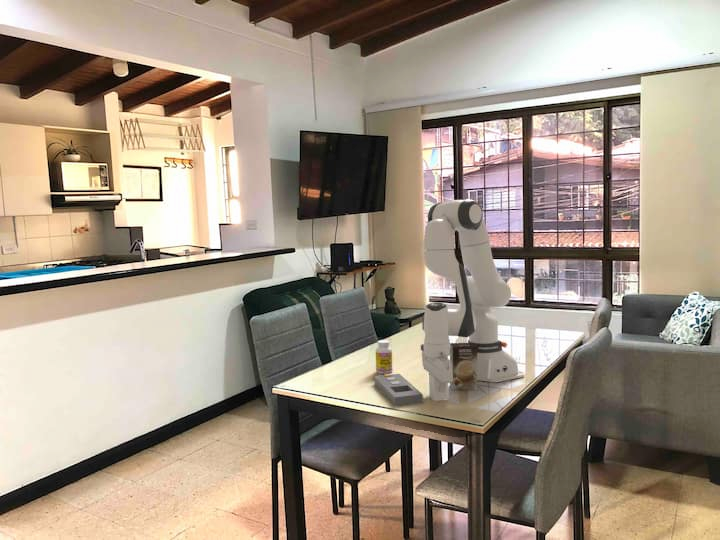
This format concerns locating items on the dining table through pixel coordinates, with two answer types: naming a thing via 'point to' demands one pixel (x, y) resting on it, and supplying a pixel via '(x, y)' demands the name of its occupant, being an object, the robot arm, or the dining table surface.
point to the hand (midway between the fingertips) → (437, 388)
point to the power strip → (398, 389)
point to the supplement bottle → (383, 357)
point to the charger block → (436, 389)
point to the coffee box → (463, 365)
